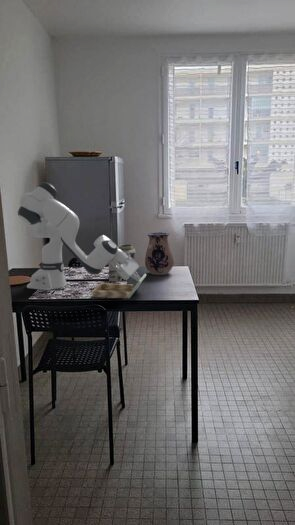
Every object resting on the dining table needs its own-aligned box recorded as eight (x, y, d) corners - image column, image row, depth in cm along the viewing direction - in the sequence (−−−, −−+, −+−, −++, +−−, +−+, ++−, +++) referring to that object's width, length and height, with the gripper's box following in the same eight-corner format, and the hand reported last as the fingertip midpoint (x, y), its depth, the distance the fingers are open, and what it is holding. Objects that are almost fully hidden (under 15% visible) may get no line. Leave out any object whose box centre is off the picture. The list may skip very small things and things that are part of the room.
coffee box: (119, 283, 234) (118, 255, 230) (109, 282, 235) (107, 255, 231) (123, 278, 242) (122, 252, 239) (113, 278, 244) (112, 252, 240)
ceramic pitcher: (145, 277, 243) (144, 236, 237) (145, 269, 263) (144, 231, 257) (174, 277, 242) (173, 236, 237) (172, 268, 263) (172, 230, 257)
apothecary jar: (115, 275, 250) (113, 246, 246) (121, 270, 262) (120, 243, 257) (133, 276, 247) (132, 247, 243) (139, 271, 258) (138, 243, 254)
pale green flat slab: (126, 298, 204) (138, 280, 200) (133, 290, 217) (144, 273, 213) (128, 299, 204) (140, 282, 200) (135, 291, 217) (146, 274, 213)
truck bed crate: (92, 298, 208) (92, 291, 207) (101, 290, 221) (100, 283, 220) (126, 299, 204) (125, 292, 203) (133, 291, 217) (132, 284, 216)
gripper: (118, 261, 196) (138, 281, 197) (129, 252, 216) (147, 270, 216) (110, 270, 198) (130, 289, 199) (121, 260, 218) (140, 278, 218)
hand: (139, 279), depth 207 cm, fingers closed, pressing on pale green flat slab
